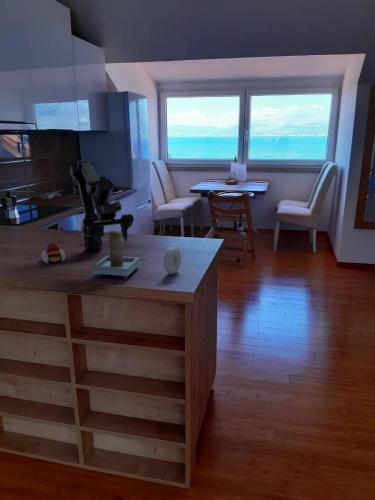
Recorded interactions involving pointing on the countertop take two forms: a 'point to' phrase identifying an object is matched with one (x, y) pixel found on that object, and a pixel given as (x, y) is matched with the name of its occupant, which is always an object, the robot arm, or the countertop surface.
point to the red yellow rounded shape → (53, 253)
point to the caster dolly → (125, 270)
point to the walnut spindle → (116, 248)
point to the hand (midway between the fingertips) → (113, 242)
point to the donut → (172, 260)
